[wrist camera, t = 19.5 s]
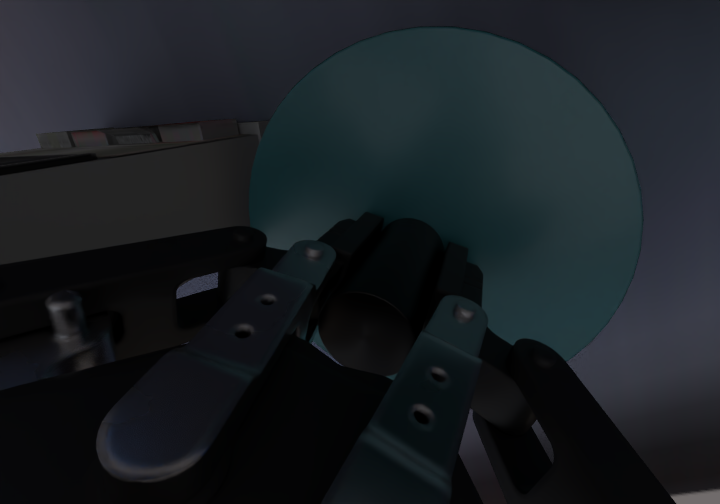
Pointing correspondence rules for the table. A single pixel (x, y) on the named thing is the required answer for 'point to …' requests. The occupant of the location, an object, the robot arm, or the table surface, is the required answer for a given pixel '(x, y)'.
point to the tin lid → (453, 189)
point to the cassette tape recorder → (125, 186)
